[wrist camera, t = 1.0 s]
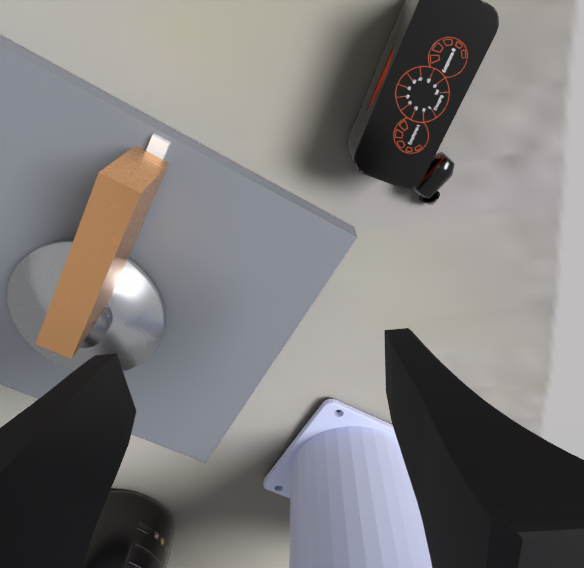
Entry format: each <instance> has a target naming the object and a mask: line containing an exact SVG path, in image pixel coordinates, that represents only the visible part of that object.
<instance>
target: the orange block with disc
mask: <svg viewBox="0 0 584 568" xmlns="http://www.w3.org/2000/svg"><path fill="white" fill-rule="evenodd" d="M168 166H169V163H168V162H167V161H165V160H163V159H161V158H159V157H157V156H155V155H153V154H151V153H149V152H147V151H146V150H144V149H142V148H140V147H138V146H136V145H135V146H134V147H133V148H131V149H130V150H129V151H127V152H126V153H124V154H123V155H122V156H120V157H119V158H118V159H116V160H115V161H113V162H112V163H111V164H109V165H108V166H107V167H105V168H104V169H102V170H101V171H100V172H99V173H98V176H97V178H96V181H95V184H94V187H93V189H92V192H91V195H90V197H89V200H88V203H87V205H86V208H85V211H84V214H83V216H82V219H81V222H80V224H79V227H78V230H77V233H76V235H75V238H74V239H62V240H57V241H53V242H50V243H47V244H44V245H42V246H40V247H38V248H37V249H35V250H34V251H32V252H31V253H30V254H29V255H27V256H26V257H25V258H24V259H23V260H22V261H21V262H20V263H19V264H18V265H17V266H16V268H15V270H14V271H13V273H12V275H11V277H10V280H9V284H8V288H7V302H8V308H9V312H10V315H11V318H12V320H13V322H14V324H15V326H16V328H17V329H18V331H19V332H20V334H21V335H22V336H23V338H24V339H25V340H26V341H27V342H28V343H29V344H30V346H32V347H33V348H34V349H35V350H36V351H37V352H38V353H40V354H41V355H43V356H44V357H45V358H47V359H49V360H51V361H52V362H54V363H56V364H58V365H60V366H62V367H65V368H68V369H71V370H73V371H74V370H76V369H77V368H78V367H79V366H81V365H82V364H83V363H85V362H86V361H87V360H89V359H90V358H92V357H93V356H95V355H105V354H117V356H118V359H119V362H120V365H121V367H122V370H123V371H126V370H129V369H131V368H134V367H136V366H137V365H139V364H141V363H142V362H143V361H145V360H146V359H147V358H148V357H149V356H150V355H151V354H152V353H153V352H154V350H155V348H156V347H157V345H158V343H159V341H160V339H161V336H162V334H163V331H164V327H165V320H166V313H165V305H164V301H163V298H162V295H161V293H160V290H159V288H158V287H157V285H156V283H155V281H154V280H153V279H152V277H151V276H150V275H149V273H148V272H147V271H146V270H145V269H144V268H143V267H142V266H141V265H140V264H139V263H137V262H136V261H135V260H134V259H133V258H131V257H130V256H129V255H130V253H131V251H132V248H133V246H134V244H135V241H136V239H137V237H138V234H139V232H140V230H141V228H142V225H143V223H144V221H145V218H146V216H147V214H148V212H149V209H150V207H151V205H152V202H153V200H154V198H155V195H156V193H157V191H158V189H159V186H160V184H161V182H162V179H163V177H164V175H165V173H166V170H167V168H168Z"/></svg>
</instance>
